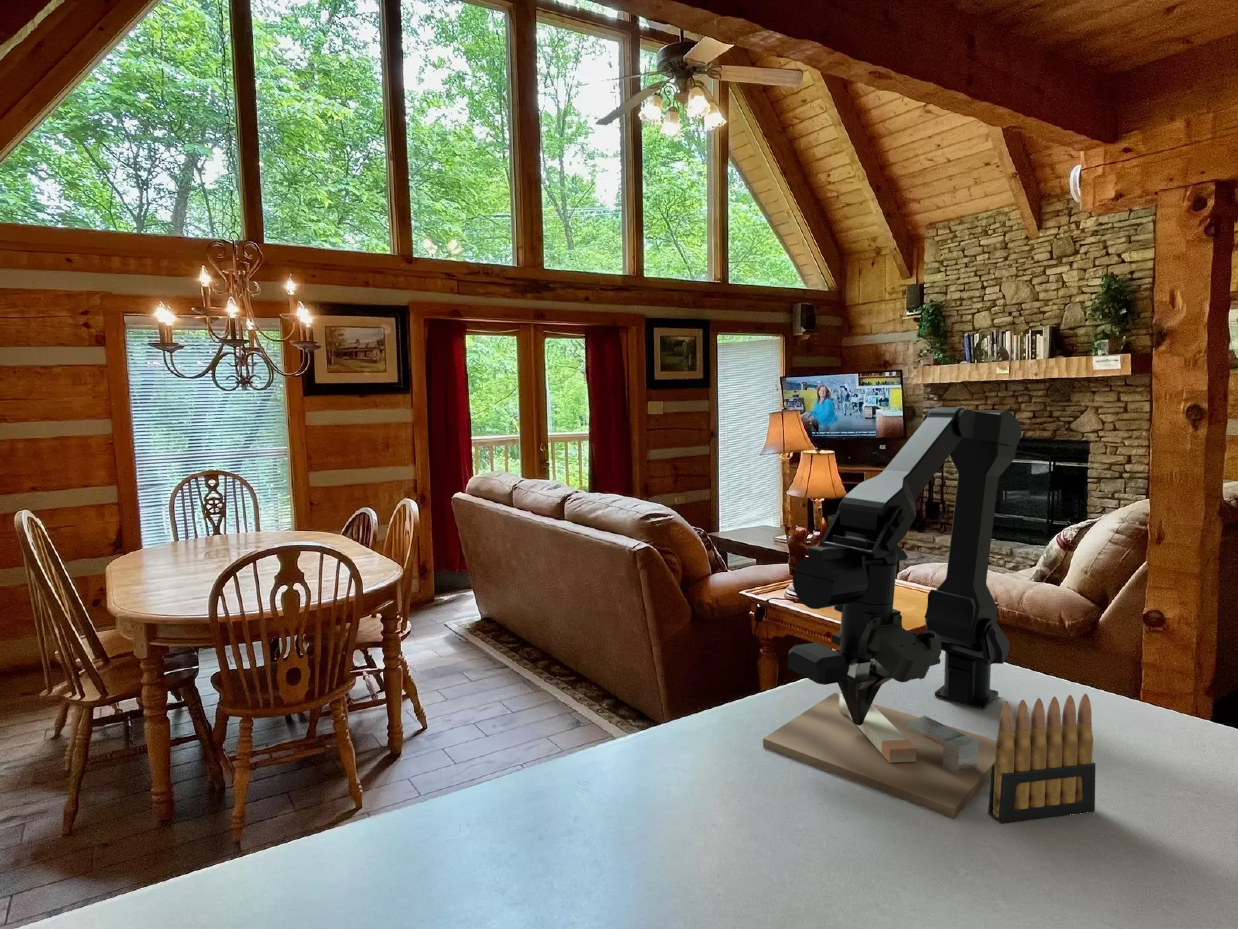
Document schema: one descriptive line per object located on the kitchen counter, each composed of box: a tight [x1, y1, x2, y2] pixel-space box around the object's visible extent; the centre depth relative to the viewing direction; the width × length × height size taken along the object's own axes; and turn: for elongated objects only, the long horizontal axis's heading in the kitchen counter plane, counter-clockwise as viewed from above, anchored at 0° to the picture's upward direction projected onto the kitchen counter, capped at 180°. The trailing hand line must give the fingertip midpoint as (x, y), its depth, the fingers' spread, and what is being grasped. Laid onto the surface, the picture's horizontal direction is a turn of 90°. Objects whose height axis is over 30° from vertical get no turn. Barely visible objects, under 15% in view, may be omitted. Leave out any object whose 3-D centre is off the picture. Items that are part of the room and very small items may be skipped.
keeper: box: [907, 715, 978, 775], centre depth 81 cm, size 3×7×3 cm, turn 26°
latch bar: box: [838, 693, 916, 763], centre depth 87 cm, size 15×4×4 cm, turn 4°
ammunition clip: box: [987, 693, 1097, 825], centre depth 72 cm, size 11×2×12 cm, turn 100°
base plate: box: [762, 692, 997, 820], centre depth 85 cm, size 18×22×1 cm
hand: (857, 724), depth 87 cm, fingers closed
